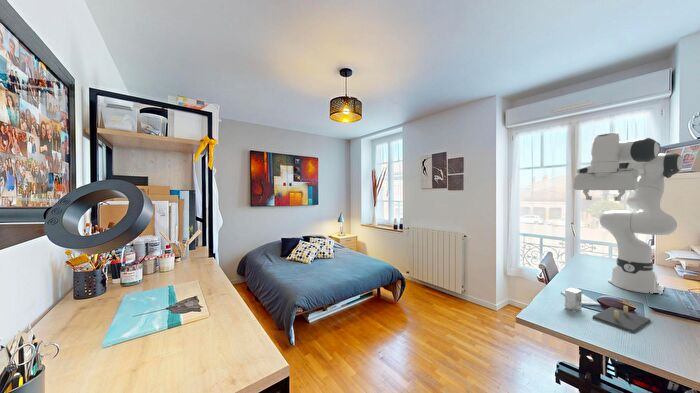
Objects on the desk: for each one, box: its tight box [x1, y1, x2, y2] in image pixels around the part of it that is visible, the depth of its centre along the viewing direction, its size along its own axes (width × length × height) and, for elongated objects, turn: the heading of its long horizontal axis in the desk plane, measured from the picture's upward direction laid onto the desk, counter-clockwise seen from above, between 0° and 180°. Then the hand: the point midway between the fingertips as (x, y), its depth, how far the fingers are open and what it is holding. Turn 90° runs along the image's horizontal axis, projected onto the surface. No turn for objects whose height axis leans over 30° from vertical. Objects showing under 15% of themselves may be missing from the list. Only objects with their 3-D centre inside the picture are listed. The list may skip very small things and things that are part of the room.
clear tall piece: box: [564, 287, 583, 312], centre depth 106 cm, size 5×4×8 cm
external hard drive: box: [560, 290, 601, 306], centre depth 114 cm, size 2×8×12 cm
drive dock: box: [592, 305, 652, 334], centre depth 96 cm, size 16×11×4 cm
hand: (602, 200), depth 110 cm, fingers open, 8 cm apart
